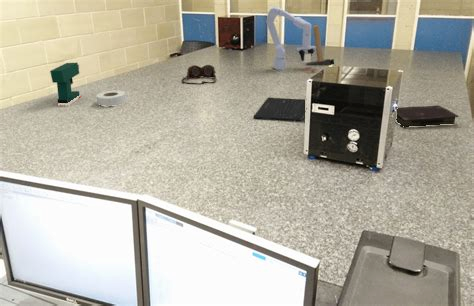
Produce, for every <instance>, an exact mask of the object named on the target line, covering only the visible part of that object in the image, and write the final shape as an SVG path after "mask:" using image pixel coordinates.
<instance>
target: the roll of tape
mask: <svg viewBox="0 0 474 306" xmlns="http://www.w3.org/2000/svg"><path fill="white" fill-rule="evenodd" d="M96 100H97V105H98V104H100V105H106V106H109V105H111V106H112V105H119V104H122V103H124V102H126V103H127V97H126V92H125V91H124V90H107V91H103V92H100V93H98V94H97V95H96Z"/></svg>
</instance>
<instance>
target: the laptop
mask: <svg viewBox="0 0 474 306" xmlns="http://www.w3.org/2000/svg"><path fill="white" fill-rule="evenodd" d="M305 99H306V98H305ZM305 99H302V98H286V97H285V98H283V97H281V98H280V97H267V99H265V101H264V102H263V103H262V105H261V106H260V107H259V109H258V110H257V111H256V113H255V114H254V115H253V119H255V118H256V120H271V121H283V120H284V121H288V122H294V121H296V122H298V121H300V122H303V121H304V120H305V119H306V118H305V112H306V111H305Z"/></svg>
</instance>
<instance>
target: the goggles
mask: <svg viewBox="0 0 474 306" xmlns="http://www.w3.org/2000/svg"><path fill="white" fill-rule="evenodd" d="M216 72H217V71H216V69H215V66H213V65H210V64H205V65H204V66H202V67H201V66H199V65H195V64H193V65H191V66H188V68H187V72H186V76H185V77H184V76H182V79H181V83H182V84H184V83H186V85H201V84H203V85H205V84H206V83H212V84H216V82H217V76H216ZM201 77H202V78H204V77H213V79H214V80H213V81H205V80H203V81H201V82H188V81H187V82H185V80H190V79H199V78H201Z"/></svg>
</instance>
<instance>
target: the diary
mask: <svg viewBox="0 0 474 306" xmlns="http://www.w3.org/2000/svg"><path fill="white" fill-rule="evenodd" d="M397 108H398V109H397V119H396V120H397V122H398V123H400V124H401V125H400V126H399V127H401V128H403V126H404V128H403V129H406V128H405V127H409V126H426V125H440V124H455V121H456V118H459V117H460V116H459V115H458V114H456V113H454V112H453V111H451V110H449V109H447V108H445V107H443V106H441V105H424V106H422V105H419V106H403V107H401V106H399V107H397Z"/></svg>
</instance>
